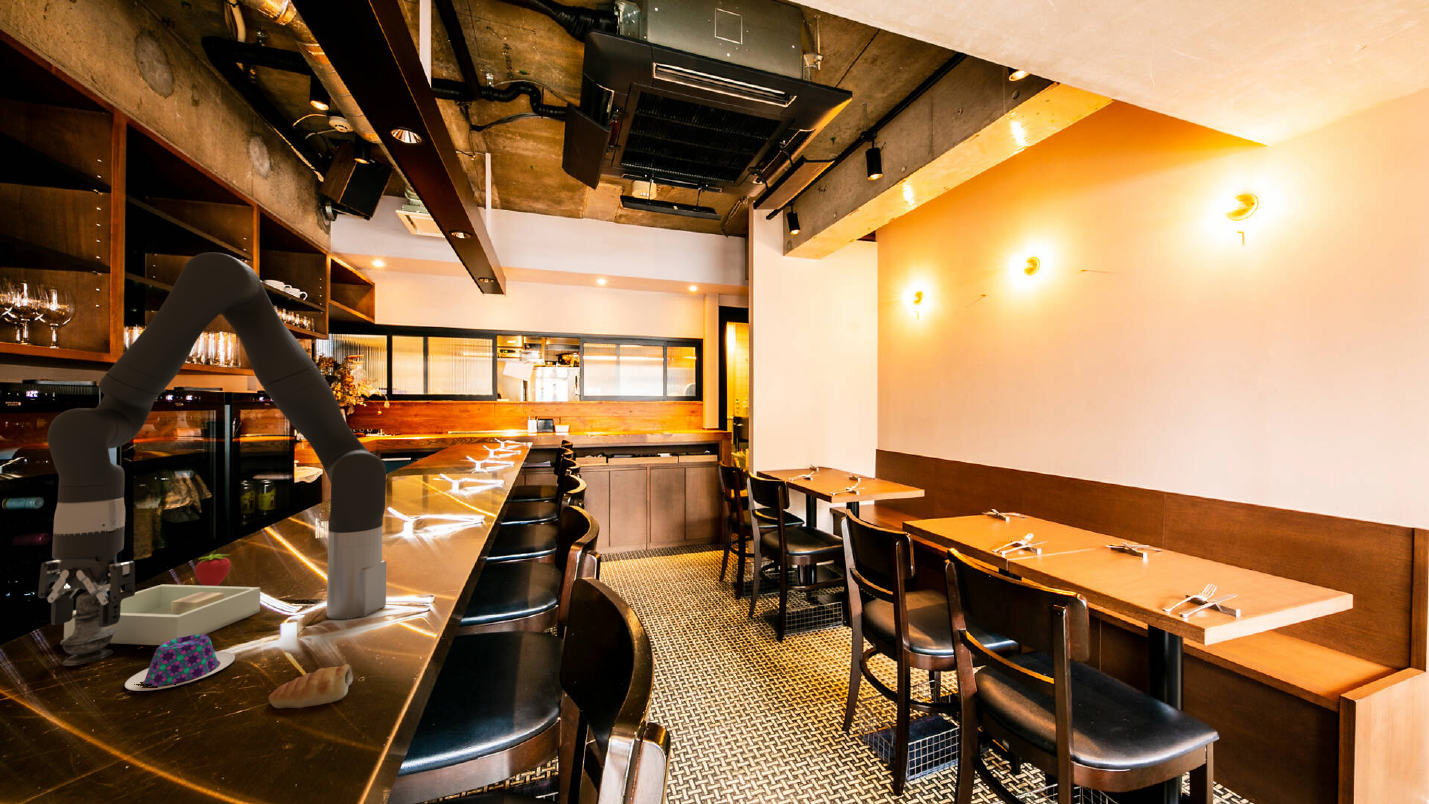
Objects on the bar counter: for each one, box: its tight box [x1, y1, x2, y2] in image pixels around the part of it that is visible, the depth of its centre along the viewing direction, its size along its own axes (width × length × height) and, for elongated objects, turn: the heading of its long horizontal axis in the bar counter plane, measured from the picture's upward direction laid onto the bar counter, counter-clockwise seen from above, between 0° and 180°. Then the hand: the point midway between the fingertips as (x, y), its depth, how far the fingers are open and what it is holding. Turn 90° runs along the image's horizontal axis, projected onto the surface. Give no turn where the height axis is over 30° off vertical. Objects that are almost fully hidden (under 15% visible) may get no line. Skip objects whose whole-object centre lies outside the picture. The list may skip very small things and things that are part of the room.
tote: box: [63, 584, 261, 646], centre depth 97 cm, size 22×15×5 cm
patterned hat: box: [124, 634, 236, 692], centre depth 80 cm, size 12×12×5 cm
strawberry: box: [194, 551, 232, 586], centre depth 115 cm, size 6×8×10 cm
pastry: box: [268, 663, 354, 709], centre depth 73 cm, size 9×7×4 cm
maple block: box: [171, 592, 224, 615], centre depth 96 cm, size 5×5×5 cm
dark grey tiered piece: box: [59, 590, 116, 667], centre depth 84 cm, size 6×6×12 cm
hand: (85, 624), depth 84 cm, fingers open, 8 cm apart
